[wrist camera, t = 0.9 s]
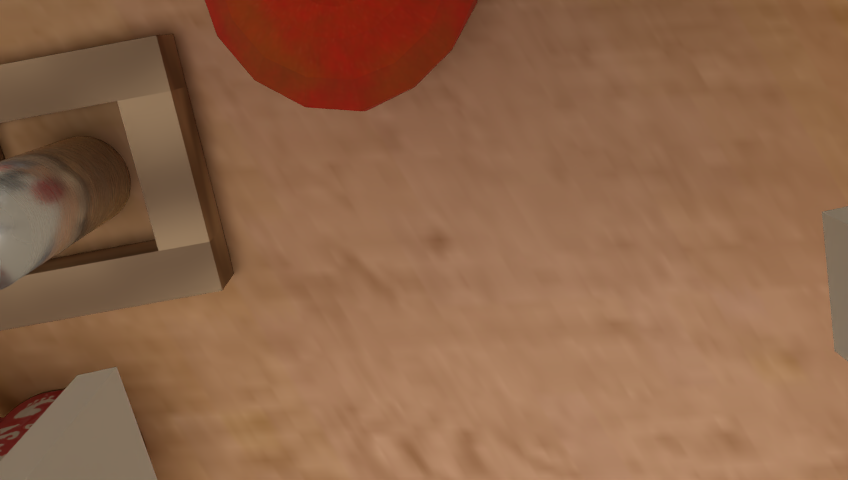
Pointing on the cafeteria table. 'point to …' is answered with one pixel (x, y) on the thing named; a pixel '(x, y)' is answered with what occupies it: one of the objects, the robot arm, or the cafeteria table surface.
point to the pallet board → (157, 172)
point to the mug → (23, 419)
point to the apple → (339, 45)
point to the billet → (56, 200)
